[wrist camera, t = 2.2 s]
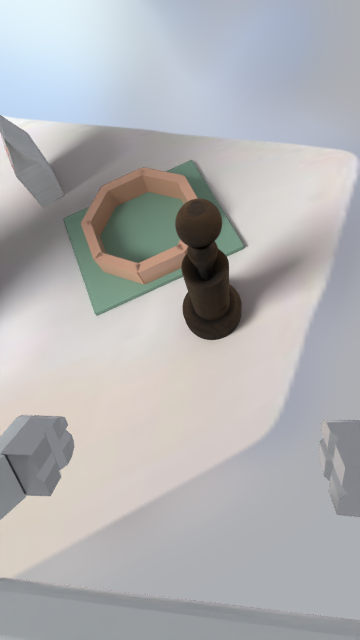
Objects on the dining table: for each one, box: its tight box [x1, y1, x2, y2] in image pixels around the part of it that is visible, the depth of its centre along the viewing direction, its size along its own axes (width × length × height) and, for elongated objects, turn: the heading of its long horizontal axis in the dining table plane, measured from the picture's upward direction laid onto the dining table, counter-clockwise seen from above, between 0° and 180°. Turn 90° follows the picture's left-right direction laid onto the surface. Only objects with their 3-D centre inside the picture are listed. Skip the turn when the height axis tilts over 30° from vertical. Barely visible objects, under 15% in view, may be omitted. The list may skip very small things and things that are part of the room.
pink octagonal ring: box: [81, 167, 197, 285], centre depth 38 cm, size 14×14×3 cm
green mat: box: [64, 160, 244, 315], centre depth 39 cm, size 20×16×1 cm
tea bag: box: [0, 115, 64, 207], centre depth 41 cm, size 4×7×10 cm, turn 27°
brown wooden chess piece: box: [175, 198, 241, 340], centre depth 26 cm, size 7×6×18 cm
